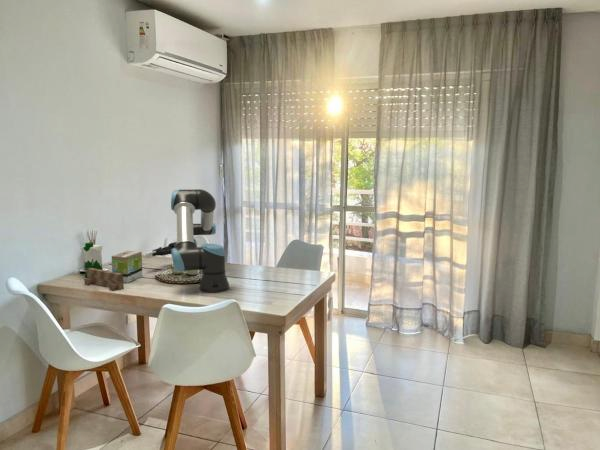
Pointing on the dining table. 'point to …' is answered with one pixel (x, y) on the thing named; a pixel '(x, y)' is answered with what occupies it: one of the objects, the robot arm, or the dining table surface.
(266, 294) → the dining table surface
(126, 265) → the tea box
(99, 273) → the brown bumpy block
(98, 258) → the milk carton
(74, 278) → the dining table surface
